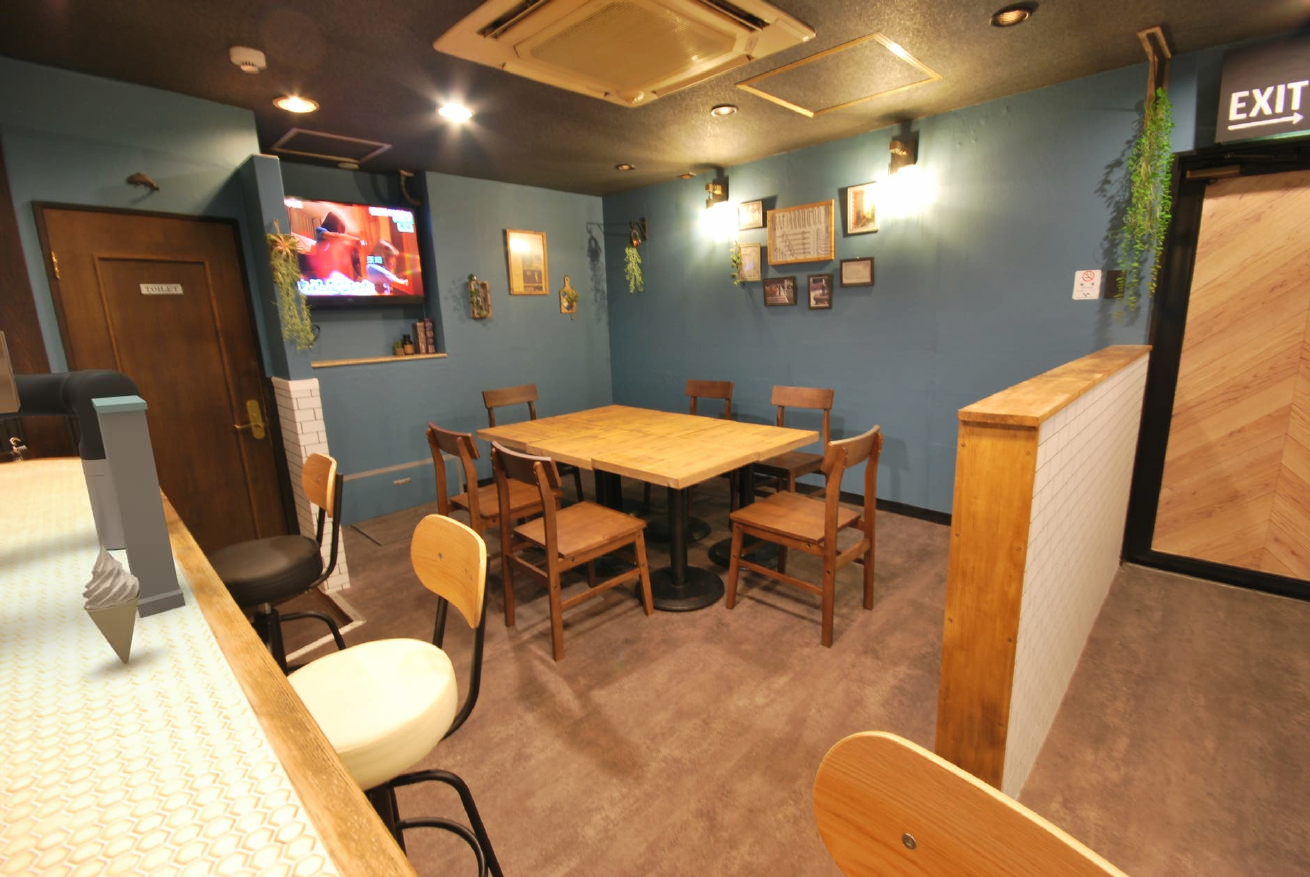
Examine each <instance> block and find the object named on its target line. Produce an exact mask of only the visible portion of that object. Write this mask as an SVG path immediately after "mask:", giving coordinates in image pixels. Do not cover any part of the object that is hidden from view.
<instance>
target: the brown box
mask: <svg viewBox="0 0 1310 877" xmlns="http://www.w3.org/2000/svg"><path fill="white" fill-rule="evenodd" d="M9 353H10V352H9V350H8V344H7V341H6V336H5V331H4V330H0V413H10V412H18V410H19V408H20V406H21V405H20V401H19V397H18V392H17V388H16V383H15V379H14V375H15V374H14V372H13V370H14V369H13V367H12V363H11V362H12V361H11V359H10V355H9Z"/></svg>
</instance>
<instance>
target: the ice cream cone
mask: <svg viewBox="0 0 1310 877" xmlns="http://www.w3.org/2000/svg"><path fill="white" fill-rule="evenodd" d="M122 564H123V563H122V562H120V561H118V560H117V559H115V557H113V555H112V554H111V553H110V552H109V551H108V549H105V548H104V546H103V545H101V548H99V552H98V554H97V558H96V561H95V563H94V566H93V568H92V571H91V575H92V579H91V580H89V581H88V582H87V583H86V584H85V585H84V586H83V587H84V588H86V590H85V591H84V592H82V593H81V594H82V596H83V598H86V599H87V600H86V601H85V603H84V606H83V607H82V610H84V611H85V612H86V613H87V615H89V617H90V618H91V620H92V622H93V623H94V625H95V626H96V627H97V629H98V630H99V631H100V633H101V634H102V636H103V637H104V639H105V640H106V641H107V642H108V644H109V645H110V647H111V648H112V650H113V651H114V652H115V654H116V655H117V657H118V658H119V660H120V661H121V663H122V664H127V663H129V661H130V654H131V649H132V642H133V636H134V631H135V623H136V616H137V612H138V608H137V605H138V599H139V596H140V593H139V592H137V591H138V590H139V588H140V587H139V582H138V578H136V577H134V575H132V574H131V573H130V572H128V571H126V570H124V569H123V565H122Z"/></svg>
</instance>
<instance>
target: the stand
mask: <svg viewBox="0 0 1310 877" xmlns="http://www.w3.org/2000/svg"><path fill="white" fill-rule="evenodd" d="M92 404H93V407H94V408H95V410H96V412H97V416H98V421H99V426H100V431H101V435H102V440H103V445H104V450H105V454H106V459H107V464H108V469H109V474H110V478H111V483H112V488H113V493H114V497H115V502H116V507H117V512H118V516H119V521H120V526H121V531H122V535H123V540H124V545H125V548H124V549H125V550H124V551H125V553H126V559H127V564H128V568H129V573H130V574H132V575H134V577H136V578H138V582H139V587H140V588H139V590H138V591H137V592H139V593H140V596H139V599H138V605H137V612H138V614H139V617H140V619H141V618H145V617H148V616H152V615H156V614H159V613H163V612H167V611H171V610H175V609H177V608H181V607H184V606H186V600H185V594H184V592H183V589H182V587H181V586H180V584H179V581H178V575H177V570H176V565H175V560H174V554H173V550H172V544H171V540H170V534H169V528H168V525H167V524H168V523H167V519H166V513H165V508H164V503H163V498H162V493H161V488H160V483H159V477H158V472H157V467H156V462H155V461H156V460H155V456H154V451H153V446H152V440H151V437H150V431H149V426H148V425H149V424H148V420H147V416H146V415H147V414H146V411H145V410H148V409H149V408H148V404H147V401H145V400H144V399H143V398H142V399H141V398H140V397H138V396H123V397H110V398H97V399H92Z"/></svg>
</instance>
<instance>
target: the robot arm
mask: <svg viewBox="0 0 1310 877" xmlns="http://www.w3.org/2000/svg"><path fill="white" fill-rule="evenodd" d="M13 375H14V379H15V383H16V388H17V392H18V397H19V401H20V405H21V406H20V408H19V410H18V412H10V413H0V421H5V420H11V419H17V418H26V417H77V418H78V425H79V429H80V441H79V444H78V446H77V447H78V453H79V458H80V462H81V467H82V470H83V475H84V479H85V485H86V489H87V493H88V498H89V503H90V507H91V511H92V516H93V520H94V525H95V530H96V535H97V539H98V543H99V547H100V548H99V549H101V545H103V546H104V548H105V549H106V550H119V549H125V545H124V540H123V535H122V531H121V526H120V521H119V516H118V512H117V507H116V502H115V497H114V493H113V488H112V483H111V478H110V474H109V469H108V464H107V459H106V454H105V450H104V445H103V440H102V435H101V431H100V426H99V421H98V416H97V412H96V410H95V408H94V407H93V404H92V399H97V398H110V397H123V396H138V397H140V398H141V399H143V397H142V393H141V391H140V388H139V387H138V385H137V383H136V382H135V380H134V379H133V378H131V376H128V375H127V374H125V373H123V372H121V371H117V370H113V369H101V368H100V369H97V368H96V369H94V368H92V369H91V368H90V369H81V370H76V371H74V370H73V371H66V372H64V371H63V372H54V373H53V372H52V373H37V374H13Z"/></svg>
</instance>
